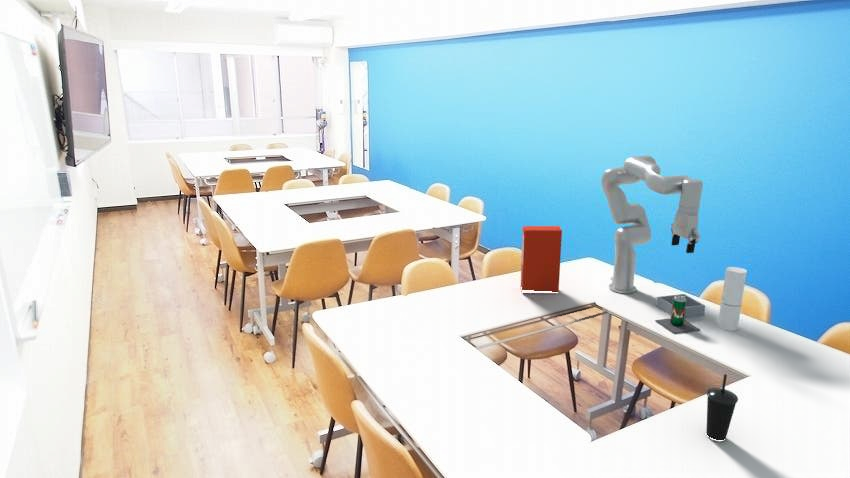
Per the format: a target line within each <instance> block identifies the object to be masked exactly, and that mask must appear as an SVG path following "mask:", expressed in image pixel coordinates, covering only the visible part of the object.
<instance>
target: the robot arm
mask: <svg viewBox="0 0 850 478" xmlns="http://www.w3.org/2000/svg"><path fill="white" fill-rule="evenodd" d="M640 181H644V182H645V185H646V186H647V187H648V189H650V190H651V191H653V192H655V193H658V194H660V195H665V196H666V195H667V196H668V195H677V194H680V195H679V202H678V209H677V211H676V212H675V216H674V220H673V223H670V228H671V236H672V237H671V246H679V244H680V240H681V238H683V239H686V240H687V242H688V243H687V245H686V250H685V253H686V254H693V253H694V252H695V247H696V244H697V243H698V242H699V240H700V239H701V235H700V233H699V231H698V228H699V212H700V204H701V198H702V193H703V192H702V191H703V185H704V182H703V181H702V180H701V179H697V178H692V177H690V176H688V175H685V174H679V175H668V176H664V175H662V174H661V167H660V166H659V165H658V164H657V161H656V160H655V158H654V157H653V156H651V155H635V156H631V157H628V158H627V159H626V160H625V161H624V163H623V166H617V167H612V168H609V169H606V170H605V171H604V172H603V174H602V176H601V180H600V182H601V188H602V190H603V191H602V192H604V194H605V197H606V200H607V203H608V207H609V211H610V214H611V217H612V221H613V222H614V224H616V225H625V224H626V225H627V226H626V225H625V226H621V227H619V228H617V230H615V233H614V235H613V238H614V239H613V240H614V247H615V250H614V264H613V265H614V266H613V276H611V277H610V280H612V282H611V283H610V284H609V285H608V289H609V290H610V291H613V292H615V293H619V294H633V293H636V292H637V287H636V286H635V285H634V280H635V271H636V262H637V254H636V250H635V249H634V246H640V245H644V244H645V245H646V244H648V243H649V242H650V241H651V238H652V231H651V227H650V223H649V220H648V217H647V216H648V215H647V213H646V211H645V208H644V207H643V206H642V205H641V204H639V203H637V202H636V203H635V202H633V203H629V202H628V199H627V196H626V193H625V192H624V190H623V189H622V188H621V187H620V186H624V185H631V184H632V185H633V184H636V183H638V182H640ZM629 224H631V225H629Z"/></svg>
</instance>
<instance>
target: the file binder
mask: <svg viewBox="0 0 850 478" xmlns="http://www.w3.org/2000/svg"><path fill="white" fill-rule="evenodd" d="M521 237H522V238H521V265H520V266H521V267H520V268H521V269H520V288H521V287H522V290H534V291H552V292H559V287H560V276H561V275H560V272H561V258H562V257H561V255H562V253H561V252H562V237H563V229H562V228H561V226H560V225H523V226H522V235H521ZM559 293H560V292H559Z"/></svg>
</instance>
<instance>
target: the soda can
mask: <svg viewBox="0 0 850 478" xmlns="http://www.w3.org/2000/svg"><path fill="white" fill-rule="evenodd" d="M676 295H677V296H674V298H673V303H672V311H671V315H670V318H671V320H670V323H671V324H672V325H674V326H682V325H683V324H684V320H685V318H686V317H685V309H686V307H687V306H686V301H687V300H686V298H685V297H684V296H679V294H676ZM684 317H685V318H684Z"/></svg>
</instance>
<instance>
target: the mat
mask: <svg viewBox="0 0 850 478" xmlns="http://www.w3.org/2000/svg"><path fill="white" fill-rule="evenodd" d="M670 320H671V317H669V318H660V319H655V321H654V322H656V324H658V325H660V326H661V327H663V328H665V330H667V331H669V332H670V333H671V334H673V335H674V334H683V333H691V332H700V331H701V329H700V328H699V327H698V326H696V325H694V324H692V323H691V322H689V321H688V320H686V319H684V324H683V325H682V326H674V325H672V324H671V323H670Z"/></svg>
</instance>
